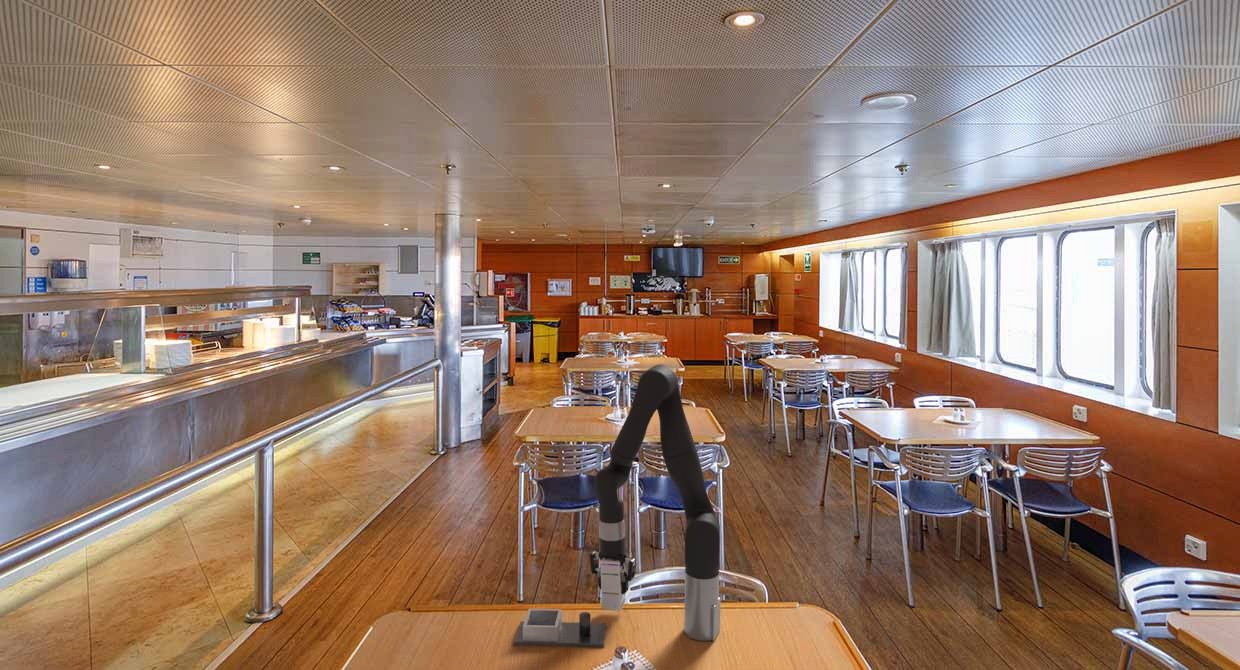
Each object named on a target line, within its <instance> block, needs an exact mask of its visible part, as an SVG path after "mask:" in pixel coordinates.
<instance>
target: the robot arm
mask: <svg viewBox="0 0 1240 670" xmlns="http://www.w3.org/2000/svg"><path fill="white" fill-rule="evenodd" d="M656 411H657V414H658V418H659V419H658V420H659V433H660V435H659V438H660V447H661V453H662V457H663V460H664V464H665V466H666V470H667V472H668V476H669V477H670V480H671V481H672V483H673V485H674V487H675V488H676V490H677V492H678V494H679V496H680V499H681V502H682V506H683V510H684V515H685V521H686V525H685V531H684V565H685V566H684V618H683V619H684V623H683V625H684V627H683V628H684V631H683V632H684V634H685V633H686V634H685V635H686V636H687V637H688V638H690V639H692V640H694V639H695V641H700V642H706V641H707V642H708V641H711V640H712V641H711V642H715V641H716V638H717V637H718V635H719V633H720V631H721V612H722V611H721V608H722V607H721V601H722V600H721V599H722V598H721V597H720V595H719V594H720V592H719V589H720V554H721V553H720V545H721V524H720V522H719V520H718V519H719V518H718V516H717V514H716V512H715V510H714V507H713V505H712V503H711V501H710V498H709V496H708V495H709V494H708V492H707V489H706V488H707V487H706V485H705V479H704V472H703V469H702V464H701V462H700V461H701V460H700V458H699V454H698V450H697V447H696V443H695V441H694V438H693V435H692V432H691V429H690V425H689V422H688V420H687V416H686V413H685V411H684V406H683V402H682V397H681V391H680V386H679V381H678V378H677V375H676V373H675V371H674V370H673V369H672V368H671V367H670V366H669V365H666V364H661V363H660V364H655V365H653V366H651V367H650V368H648V369H647V370H645V371H644V372H643V373H642V374H641V375H640V377H639V380H638V382H637V386H636V390H635V394H634V397H633V401H632V404H631V406H630V409H629V412H628V414H627V417H626V419H625V421H624V422H623V425H622V427H621V429H620V430H619V432H618V435H617V437H616V439H615V441H614V444H613V445H612V447H611V449H610V454H609V455H610V461H609V463H608V464H607V466H605V467H603V468H601V469H600V470H599V471H597V472H596V474H595V477H594V483H593V484H594V491H595V495H596V498H597V502H598V505H599V507H598V509H599V511H598V512H599V523H598V547H599V548H598V550H599V552H598V551H597V550H593V551H592V552H590V554H589V561H590V572H591V574H593V575H596V576H597V587H598V588H599V590H601V565H600V566H599V560H600V561H601V560H602V559H603V558H605V559H608V558H610V559H614V560H613V561H615V560H619V561H620V566H623V568H622V570H620V575H621V580H622V582H621V593H622V594H625V595H626V593H627V592H628V591H629V582H631V581H632V580H633V579H634V578H635V575H636V563H637V559H636V558H635V557H632V558H629V557H627V555H626V525H625V524H626V523H625V504H624V500H623V499H621V498H620V497H618V489H620V488H621V487H623V486H624V485H625V484H626V482H627V480H628V479H629V477H630V475H631V471H632V467H633V464H634V461H635V459H636V457H637V455H638V453H639V451H640V449H641V447H642V445H643V442H644V439H645V437H646V434H647V429H648V426H649V424H650V422H651V420H652V418H653V416H654V414H655V412H656ZM625 563H626V565H625Z"/></svg>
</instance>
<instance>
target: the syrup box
mask: <svg viewBox="0 0 1240 670" xmlns="http://www.w3.org/2000/svg"><path fill="white" fill-rule="evenodd" d="M613 560H614V559H610V558H608V559H605V558H603V559H602V560H600V561H599V562H600V566H601V589H600V590H601V591H600V593H601V609H602V610H605V611H615V612H616V611H617V612H621V611H622V609H623V607H624V606H625V605H624V604H625V602H626V593H625V594H622V593H621V582H622V580H621V575H620V570H622V568H623V566H620V561H619V560H615V561H613Z"/></svg>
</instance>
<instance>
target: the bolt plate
mask: <svg viewBox="0 0 1240 670" xmlns="http://www.w3.org/2000/svg"><path fill="white" fill-rule="evenodd" d="M562 612H563V610H562V609H561V608H560V609H559V608H528V610H527V613H526V616H525V619H524V621H523V620H522V621H520V622H519V625H518V628H517V631H516V634H515V638H514V639H513V646H521V647H522V646H523V647H524V646H525V647H526V646H529V647H571V648H573V647H574V648H576V647H577V648H605V641H606V631H607V630H606V629H607V623H606V622H591V613H590V612H586V611H584V612H581V613H579V615H578V616H579V621H578V622H574V621H573V622H566V621H565V622H564V621H563V619H562V618H563V616H562ZM562 621H563V622H562Z"/></svg>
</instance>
